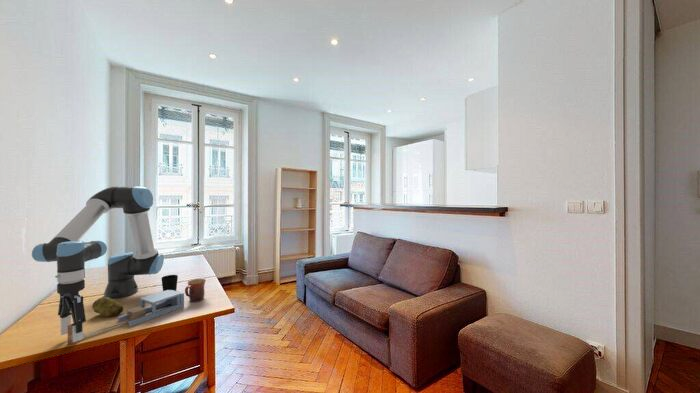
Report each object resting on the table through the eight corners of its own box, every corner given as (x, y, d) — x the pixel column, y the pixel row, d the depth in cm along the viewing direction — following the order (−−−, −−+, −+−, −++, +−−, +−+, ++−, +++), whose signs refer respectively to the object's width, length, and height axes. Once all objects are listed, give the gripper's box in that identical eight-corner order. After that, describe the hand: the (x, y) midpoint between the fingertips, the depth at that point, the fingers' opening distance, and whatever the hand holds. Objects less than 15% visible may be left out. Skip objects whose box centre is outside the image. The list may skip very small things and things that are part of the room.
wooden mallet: (65, 342, 105) (65, 324, 105) (140, 316, 127) (139, 302, 127) (70, 346, 103) (70, 328, 103) (145, 319, 125) (145, 304, 125)
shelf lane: (117, 321, 123) (117, 305, 123) (171, 302, 144) (171, 288, 144) (130, 326, 118) (130, 309, 118) (184, 306, 139) (183, 292, 139)
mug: (196, 295, 153) (196, 278, 153) (209, 297, 152) (209, 279, 151) (178, 304, 142) (178, 285, 141) (193, 305, 140) (192, 286, 140)
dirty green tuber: (105, 321, 123) (104, 303, 123) (89, 316, 128) (89, 299, 128) (125, 313, 131) (125, 297, 131) (110, 309, 135) (109, 293, 135)
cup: (180, 296, 152) (180, 275, 152) (166, 301, 145) (166, 279, 145) (172, 294, 155) (172, 274, 155) (158, 299, 148) (158, 277, 148)
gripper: (46, 279, 106) (46, 334, 107) (70, 288, 96) (70, 349, 96) (71, 274, 113) (72, 326, 113) (97, 282, 103) (97, 339, 103)
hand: (71, 336), depth 105 cm, fingers open, 10 cm apart
